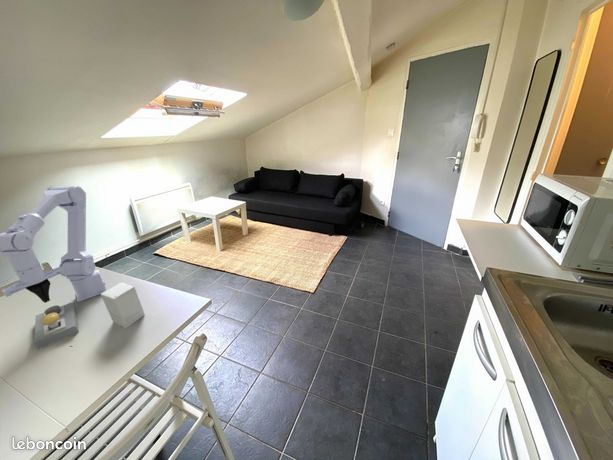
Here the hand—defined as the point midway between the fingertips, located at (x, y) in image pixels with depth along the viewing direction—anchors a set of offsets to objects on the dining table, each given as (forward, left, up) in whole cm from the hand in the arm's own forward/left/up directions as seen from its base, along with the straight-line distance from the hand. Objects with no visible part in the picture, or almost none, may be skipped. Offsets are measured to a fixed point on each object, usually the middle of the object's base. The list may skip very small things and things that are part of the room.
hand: (46, 300), depth 89 cm
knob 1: (0, -1, -9) cm, 9 cm away
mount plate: (0, +3, -10) cm, 10 cm away
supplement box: (-19, +16, -10) cm, 27 cm away
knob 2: (0, +8, -7) cm, 10 cm away
